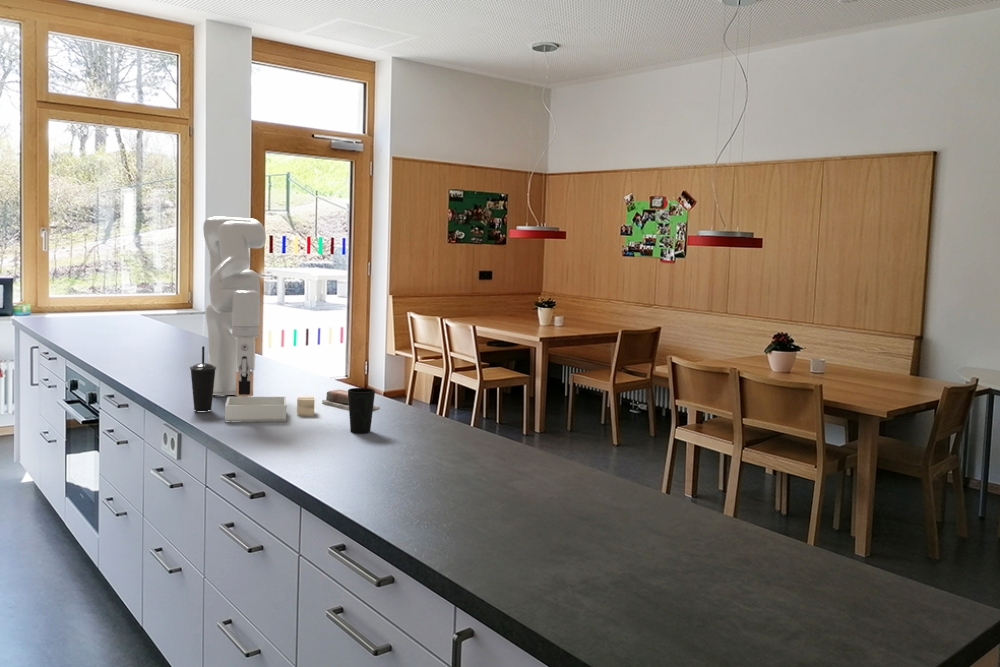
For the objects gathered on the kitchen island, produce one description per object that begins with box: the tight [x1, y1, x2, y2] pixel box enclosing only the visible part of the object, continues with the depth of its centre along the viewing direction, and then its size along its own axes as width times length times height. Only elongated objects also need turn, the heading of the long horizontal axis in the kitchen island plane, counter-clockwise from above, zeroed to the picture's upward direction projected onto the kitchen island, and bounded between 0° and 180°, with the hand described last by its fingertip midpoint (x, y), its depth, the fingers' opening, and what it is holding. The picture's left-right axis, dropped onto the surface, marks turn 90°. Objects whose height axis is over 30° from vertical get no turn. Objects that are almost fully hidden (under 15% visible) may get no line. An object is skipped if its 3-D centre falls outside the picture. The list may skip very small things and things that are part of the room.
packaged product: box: [321, 389, 381, 412], centre depth 268 cm, size 18×5×10 cm
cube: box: [296, 396, 316, 417], centre depth 253 cm, size 5×5×5 cm
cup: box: [347, 387, 376, 435], centre depth 233 cm, size 8×8×12 cm
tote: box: [224, 396, 287, 423], centre depth 245 cm, size 13×17×5 cm
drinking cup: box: [189, 345, 216, 411], centre depth 249 cm, size 8×8×20 cm
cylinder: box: [235, 370, 254, 397], centre depth 243 cm, size 5×5×7 cm
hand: (244, 392), depth 243 cm, fingers closed on cylinder, 5 cm apart
